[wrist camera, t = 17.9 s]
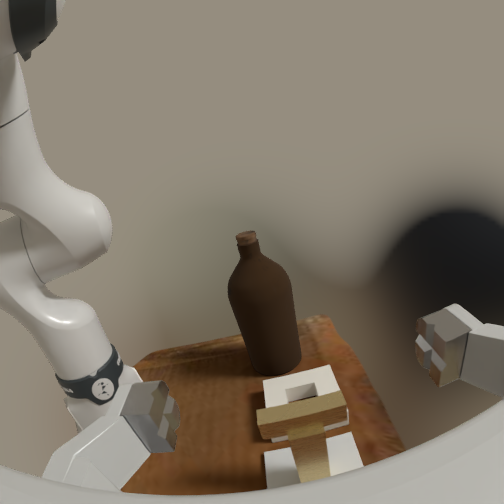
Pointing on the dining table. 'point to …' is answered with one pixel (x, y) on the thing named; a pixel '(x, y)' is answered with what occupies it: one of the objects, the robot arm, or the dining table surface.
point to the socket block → (301, 390)
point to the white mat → (284, 467)
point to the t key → (305, 430)
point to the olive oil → (264, 309)
